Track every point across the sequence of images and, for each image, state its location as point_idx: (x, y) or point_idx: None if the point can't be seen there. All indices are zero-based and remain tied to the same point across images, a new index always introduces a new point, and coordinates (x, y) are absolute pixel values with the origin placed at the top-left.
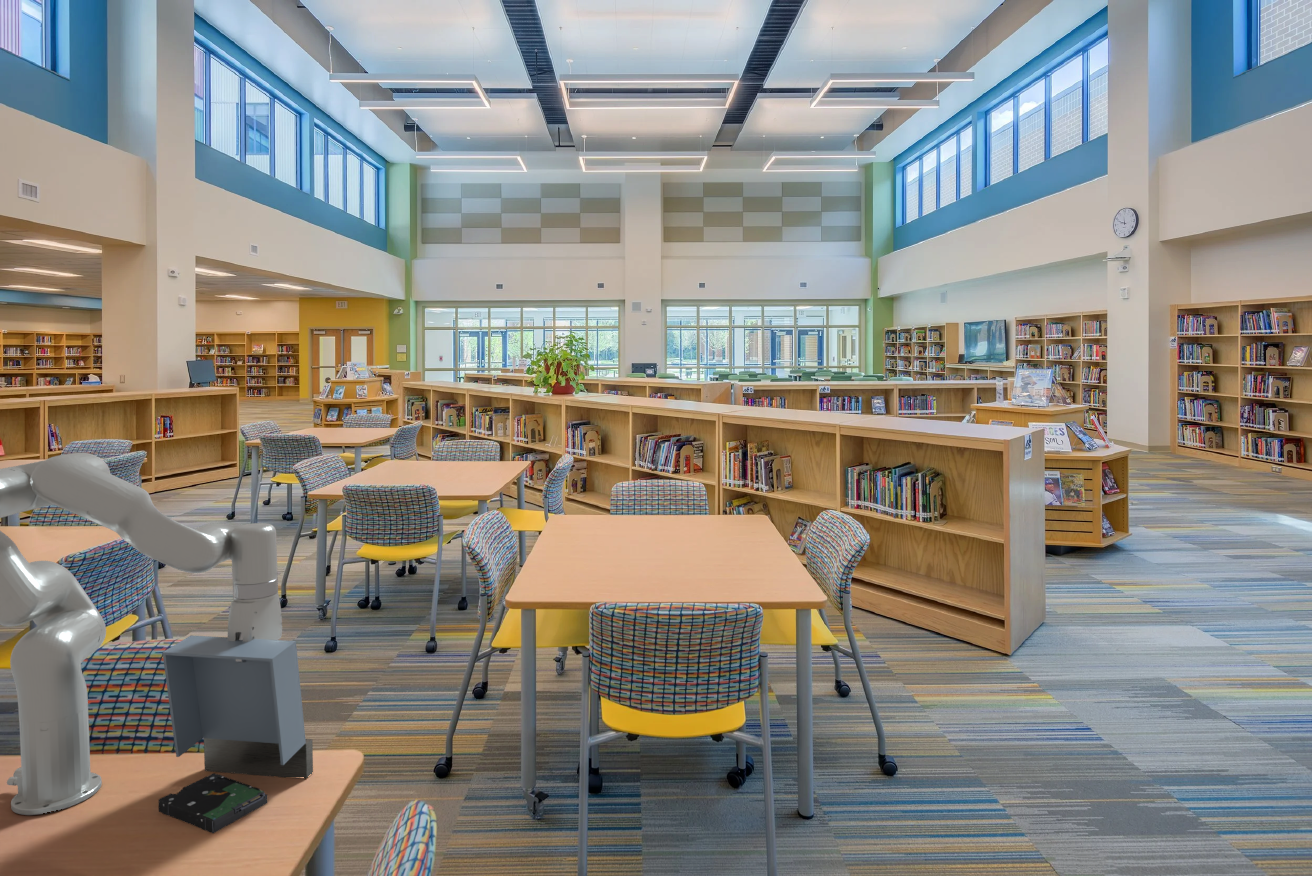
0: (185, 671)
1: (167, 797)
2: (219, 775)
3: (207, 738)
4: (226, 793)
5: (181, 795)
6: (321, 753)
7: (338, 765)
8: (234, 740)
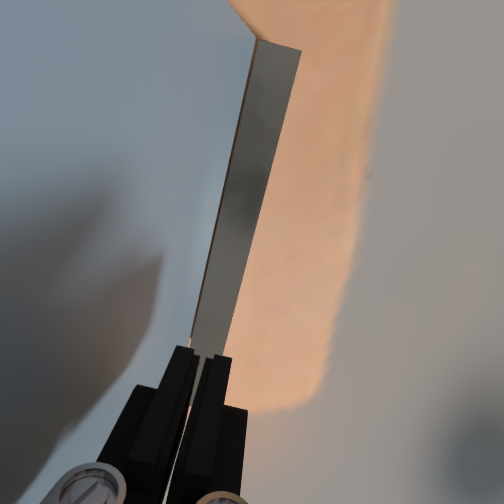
0: None
1: None
2: None
3: (255, 58)
4: None
5: None
6: (325, 340)
7: (256, 389)
8: (228, 176)
